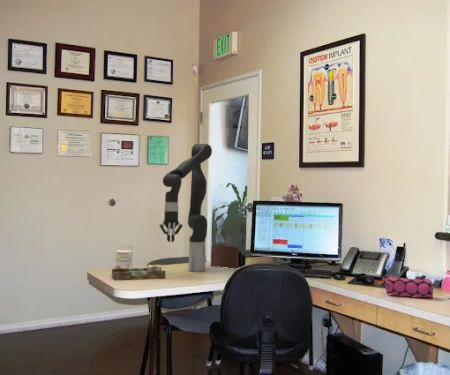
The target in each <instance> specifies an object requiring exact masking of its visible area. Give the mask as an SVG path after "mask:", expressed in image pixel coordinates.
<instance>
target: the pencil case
mask: <svg viewBox="0 0 450 375" xmlns="http://www.w3.org/2000/svg"><path fill="white" fill-rule="evenodd" d="M385 291H386V294H391V295H403V296H402V297H407V296H415V297H414V298H416V297H431V298H430V299H433V298H434V288H433V281H431V280H430V279H429V278H424V279H419V278H417V279H414V278H405V277H404V278H403V277H396V276H393V275H389V274H387V275H386V280H385ZM391 295H390V296H391Z"/></svg>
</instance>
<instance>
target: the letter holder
mask: <svg viewBox="0 0 450 375" xmlns="http://www.w3.org/2000/svg"><path fill="white" fill-rule="evenodd" d="M210 251H211V254H210V255H211V256H210V258H211V259H210V267H214V266H220V267H219V268H221V267H228V268H227V269H229V268H235V269H234V270H237V269H236V268H239V267H242V266H244V265H245V266H246V258H247V257H246V255H244V254H243V252H242V251H241V250H240V249H239V247H236V246H232V245H226V244H215V245H212V246H211V250H210Z"/></svg>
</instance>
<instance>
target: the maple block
mask: <svg viewBox="0 0 450 375" xmlns="http://www.w3.org/2000/svg"><path fill="white" fill-rule="evenodd" d="M147 268H148V271H161V268H162V266H161V265H159V264H147Z"/></svg>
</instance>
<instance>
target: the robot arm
mask: <svg viewBox="0 0 450 375" xmlns="http://www.w3.org/2000/svg"><path fill="white" fill-rule="evenodd" d="M190 154H191V155H190V156H191V157H190V158H188V159H186V160H184V161H182V162H181V163H180V164H179V165H178V166H176V168H175V169H173V170H171V171H169V172H167V173H165V175H164V177H163V179H162V183H163V186H165V187H167V188H171V189H170V190H169V191H166V192H165V198H164V199H165V203H164V219H163V222H162V223H160V224H158V225H159V228H160V229H161V231H162V233H163V234H164V235H166V241H167V242H168V243H174V242H175V235H178V234H179V232H180V231H181V229H182V228H183V224H181V223H180V222H179V193H180V191H181V186H182V180H183V179H184V178H186V176H188V175H189V174H190V173H191V183H190V197H189V198H190V199H189V202H190V204H189V210H188V216H187V217H188V218H187V224H188V227H189V228H190V229H191V230H192V234H191V235H190V236H189V245H188V246H189V249H188V252H189V253H188V271H189V272H195V273H196V272H198V273H199V272H206V259H207V258H206V254H205V253H206V252H205V251H206V238H207V236H208V235H207V234H208V220H207V218H206V216H204V215H203V214H202V204H203V202H204V199H205V197H206V194H207V185H208V184H207V182H208V181H207V179H206V177H205V174H204V172H203V170H202V166H201V165H202V163H203V162H206V161H207V160H208V159H210V158H211V156H212V154H213V149H212V147H211V145H210V144H209V143H195V144H194V145H193V146H192V147H191V153H190ZM165 228H166V229H165Z"/></svg>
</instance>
